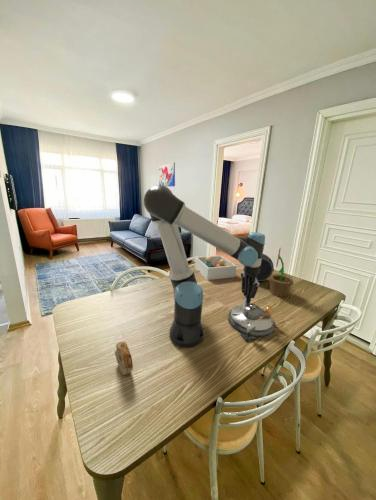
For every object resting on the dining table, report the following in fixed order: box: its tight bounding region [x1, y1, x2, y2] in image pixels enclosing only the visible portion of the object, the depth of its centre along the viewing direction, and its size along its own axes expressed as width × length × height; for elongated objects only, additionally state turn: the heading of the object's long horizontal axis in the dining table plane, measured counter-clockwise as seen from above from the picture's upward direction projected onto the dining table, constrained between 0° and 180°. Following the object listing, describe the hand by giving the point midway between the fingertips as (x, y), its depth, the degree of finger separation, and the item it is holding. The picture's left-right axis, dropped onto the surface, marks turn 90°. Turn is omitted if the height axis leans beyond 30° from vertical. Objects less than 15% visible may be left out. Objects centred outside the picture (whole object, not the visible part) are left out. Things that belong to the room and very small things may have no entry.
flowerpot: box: [268, 247, 294, 298], centre depth 131 cm, size 14×14×30 cm
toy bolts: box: [204, 256, 226, 268], centre depth 162 cm, size 18×17×12 cm
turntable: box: [230, 304, 274, 332], centre depth 102 cm, size 20×20×6 cm
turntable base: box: [227, 310, 276, 339], centre depth 104 cm, size 22×22×2 cm
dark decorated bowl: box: [257, 253, 275, 282], centre depth 151 cm, size 11×20×20 cm, turn 78°
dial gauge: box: [240, 323, 257, 342], centre depth 92 cm, size 5×4×8 cm
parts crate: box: [194, 255, 237, 281], centre depth 162 cm, size 23×24×9 cm
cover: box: [243, 303, 262, 320], centre depth 103 cm, size 8×8×6 cm
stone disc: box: [114, 341, 134, 376], centre depth 73 cm, size 10×4×10 cm, turn 35°
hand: (245, 307), depth 107 cm, fingers closed
